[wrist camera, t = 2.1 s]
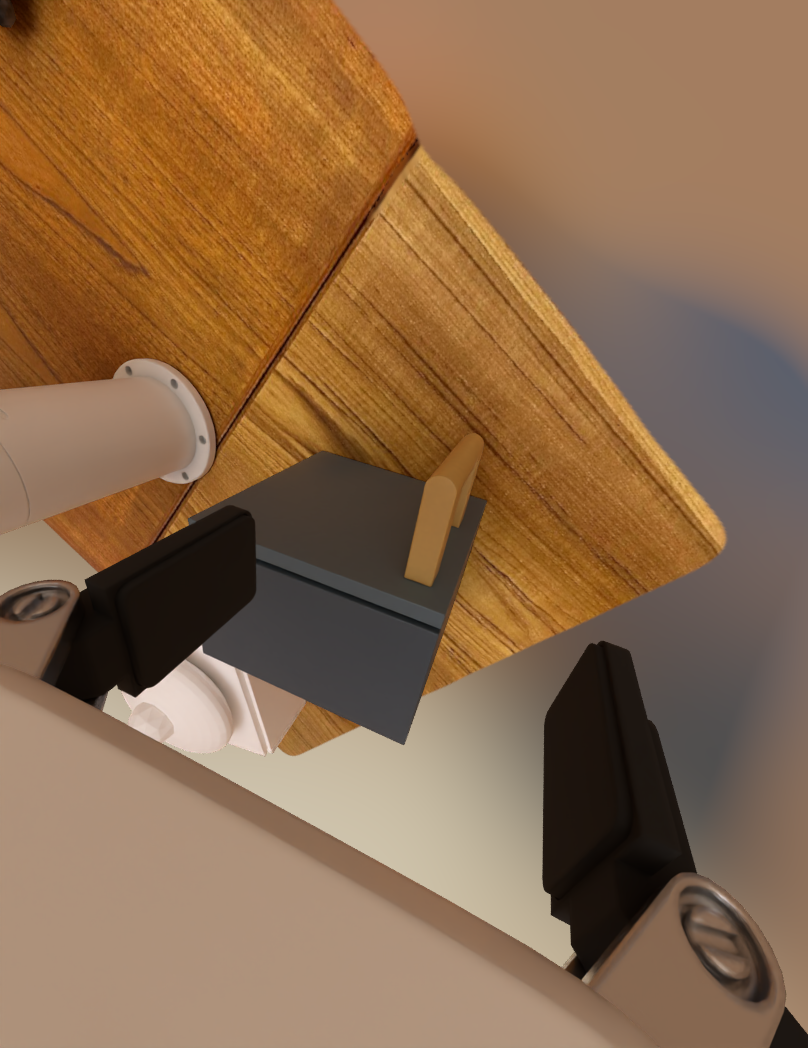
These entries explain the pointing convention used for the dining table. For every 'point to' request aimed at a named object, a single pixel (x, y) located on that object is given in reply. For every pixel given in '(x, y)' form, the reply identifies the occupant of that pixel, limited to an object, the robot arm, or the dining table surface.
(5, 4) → the fruit
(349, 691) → the cupboard
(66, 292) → the dining table surface
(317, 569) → the door
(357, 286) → the dining table surface
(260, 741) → the butter dish
